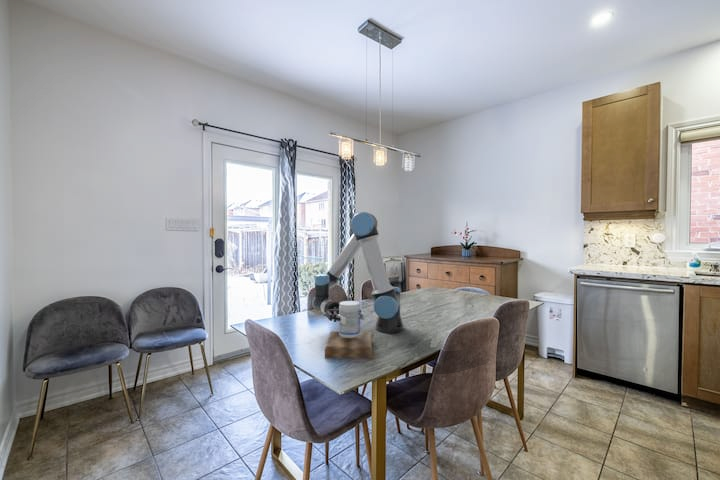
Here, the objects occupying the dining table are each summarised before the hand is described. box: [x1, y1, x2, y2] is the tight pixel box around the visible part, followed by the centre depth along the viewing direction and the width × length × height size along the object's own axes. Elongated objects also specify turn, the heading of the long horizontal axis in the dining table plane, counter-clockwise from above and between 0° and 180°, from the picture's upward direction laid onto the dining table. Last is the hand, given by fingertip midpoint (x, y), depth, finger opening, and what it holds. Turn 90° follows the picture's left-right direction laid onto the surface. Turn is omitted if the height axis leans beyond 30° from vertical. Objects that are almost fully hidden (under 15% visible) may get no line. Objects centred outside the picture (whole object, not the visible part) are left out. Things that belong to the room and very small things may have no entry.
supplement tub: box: [338, 300, 361, 338], centre depth 139 cm, size 10×10×15 cm
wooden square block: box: [324, 330, 373, 360], centre depth 139 cm, size 20×20×5 cm
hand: (355, 319), depth 135 cm, fingers closed on supplement tub, 9 cm apart
